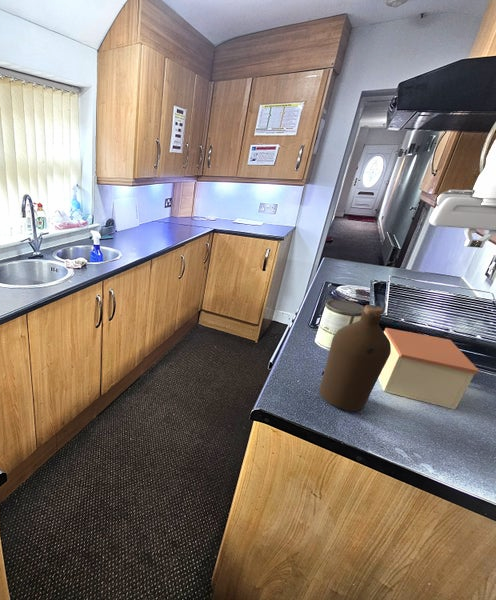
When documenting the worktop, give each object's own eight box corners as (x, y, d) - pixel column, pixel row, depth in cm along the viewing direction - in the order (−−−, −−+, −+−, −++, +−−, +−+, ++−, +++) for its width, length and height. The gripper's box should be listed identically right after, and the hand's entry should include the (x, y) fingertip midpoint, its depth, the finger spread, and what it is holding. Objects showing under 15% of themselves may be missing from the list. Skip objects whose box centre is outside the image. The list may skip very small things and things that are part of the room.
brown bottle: (379, 410, 77) (420, 316, 67) (340, 416, 76) (376, 320, 66) (341, 382, 87) (372, 296, 77) (306, 387, 85) (333, 299, 75)
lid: (477, 374, 74) (479, 370, 73) (400, 357, 80) (401, 354, 79) (449, 342, 87) (450, 339, 87) (384, 330, 93) (385, 327, 93)
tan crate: (455, 409, 78) (475, 372, 74) (383, 391, 84) (399, 355, 80) (432, 376, 91) (449, 342, 87) (371, 362, 97) (384, 330, 93)
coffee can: (317, 333, 113) (329, 296, 107) (354, 344, 106) (368, 305, 101) (311, 345, 106) (322, 306, 100) (349, 357, 100) (364, 316, 94)
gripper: (446, 189, 81) (424, 244, 87) (570, 194, 72) (537, 254, 78) (437, 188, 87) (416, 240, 92) (552, 192, 78) (522, 249, 83)
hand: (472, 246), depth 85 cm, fingers closed
